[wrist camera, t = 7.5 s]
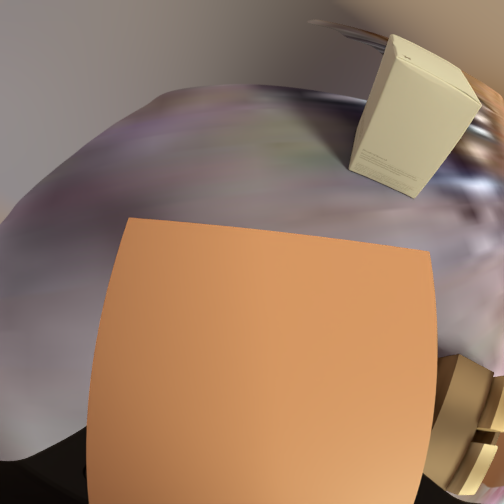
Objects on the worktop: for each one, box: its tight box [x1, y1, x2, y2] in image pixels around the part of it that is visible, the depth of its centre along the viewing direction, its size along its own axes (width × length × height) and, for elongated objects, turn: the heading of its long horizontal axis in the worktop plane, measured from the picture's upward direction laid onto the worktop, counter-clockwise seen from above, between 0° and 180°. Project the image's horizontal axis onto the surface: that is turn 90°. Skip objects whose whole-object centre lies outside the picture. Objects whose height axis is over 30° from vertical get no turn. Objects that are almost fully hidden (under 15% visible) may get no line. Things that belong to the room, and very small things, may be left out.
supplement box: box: [349, 34, 482, 198], centre depth 22 cm, size 9×9×15 cm
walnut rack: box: [423, 354, 500, 491], centre depth 15 cm, size 12×16×4 cm
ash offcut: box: [446, 442, 498, 495], centre depth 12 cm, size 5×3×4 cm, turn 151°
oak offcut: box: [476, 376, 504, 432], centre depth 14 cm, size 5×3×4 cm, turn 151°
